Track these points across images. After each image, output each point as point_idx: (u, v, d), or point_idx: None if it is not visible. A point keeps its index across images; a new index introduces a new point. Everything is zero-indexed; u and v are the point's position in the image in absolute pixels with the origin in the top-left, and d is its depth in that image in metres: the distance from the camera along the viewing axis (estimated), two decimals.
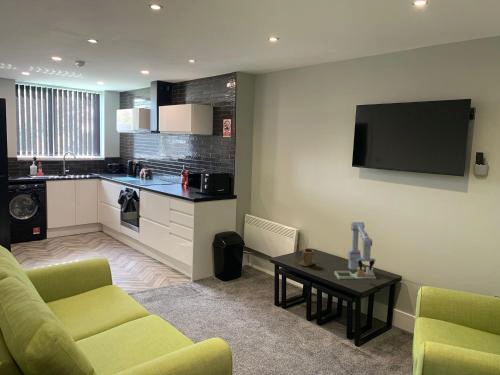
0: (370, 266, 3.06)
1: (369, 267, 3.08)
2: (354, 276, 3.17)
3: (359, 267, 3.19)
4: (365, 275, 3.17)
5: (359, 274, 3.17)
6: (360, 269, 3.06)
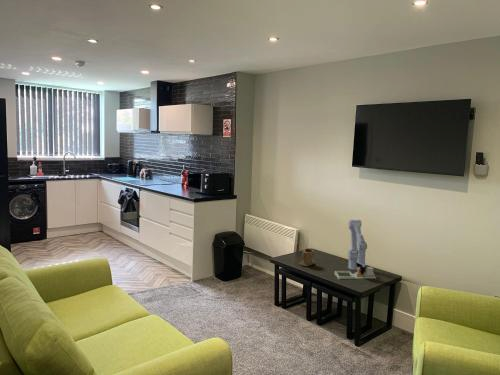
0: None
1: None
2: (354, 276, 3.17)
3: (359, 267, 3.19)
4: (365, 275, 3.17)
5: (359, 274, 3.17)
6: None
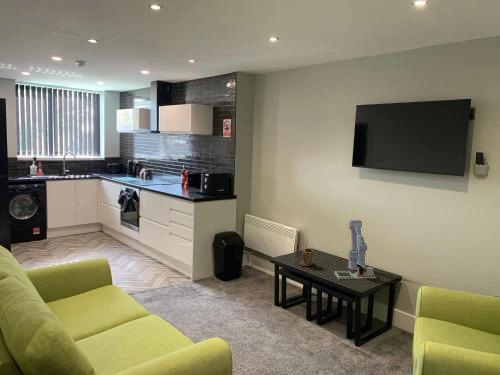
0: None
1: None
2: (354, 276, 3.17)
3: None
4: (365, 275, 3.17)
5: (359, 274, 3.17)
6: None
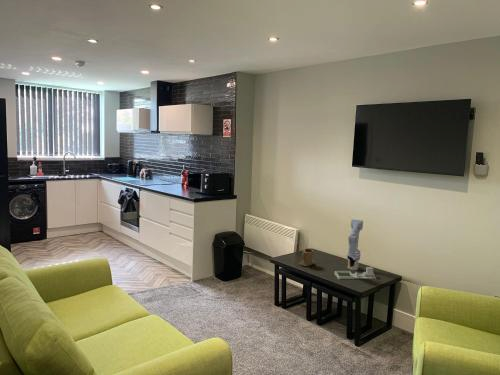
0: None
1: None
2: (354, 276, 3.17)
3: None
4: (365, 275, 3.17)
5: (350, 266, 3.15)
6: None
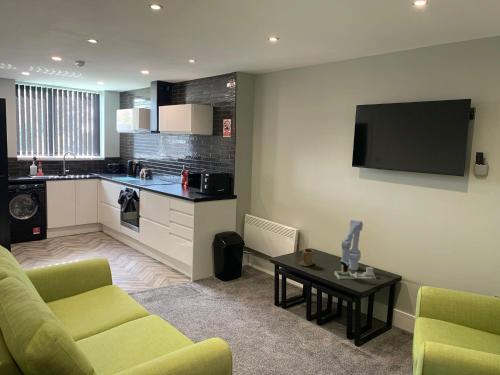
0: None
1: (346, 269, 3.16)
2: (354, 276, 3.17)
3: None
4: (365, 275, 3.17)
5: (343, 271, 3.16)
6: None
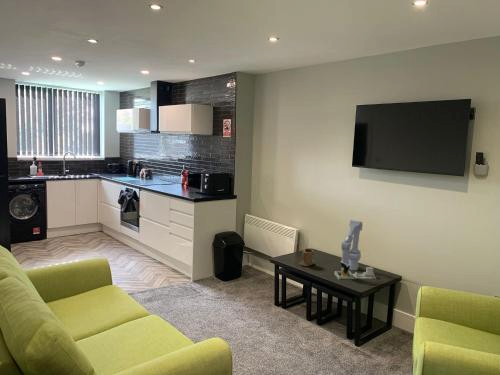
0: None
1: None
2: (354, 276, 3.17)
3: None
4: (365, 275, 3.17)
5: (343, 274, 3.16)
6: None
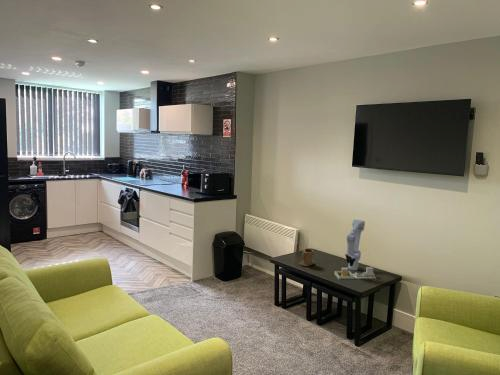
0: None
1: None
2: (354, 276, 3.17)
3: None
4: (365, 275, 3.17)
5: (343, 274, 3.16)
6: None
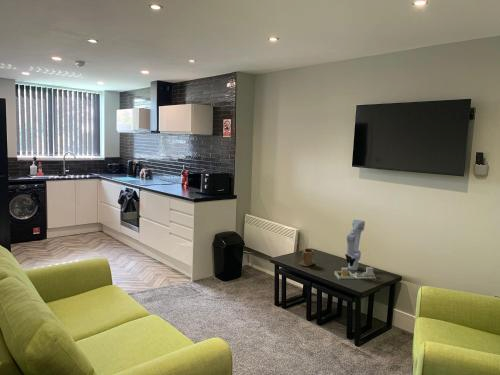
0: None
1: None
2: (354, 276, 3.17)
3: None
4: (365, 275, 3.17)
5: (343, 274, 3.16)
6: None
